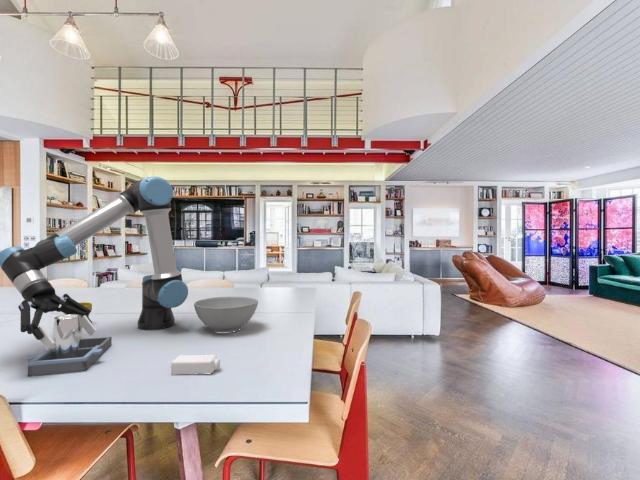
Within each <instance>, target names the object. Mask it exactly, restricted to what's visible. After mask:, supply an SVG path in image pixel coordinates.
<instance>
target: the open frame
mask: <svg viewBox="0 0 640 480" xmlns="http://www.w3.org/2000/svg"><path fill="white" fill-rule="evenodd" d="M112 338H113V337H112V336H107V337H106V336H104V337H103V336H101V337H90V338H81V339H80V343H79V348H78V358H67V359H56V348H55V347H54V348H50V349H45V350H44V351H43V352H41V353H34V354H32V355H30V356H29V357H28V362H27V364H26V365H27V377H36V376H37V377H38V376H48V375H57V374H58V375H59V374H66V373H67V374H68V373H78V372H87V370H88V369H89V368H90V367H91V366H92V365H93V364H94V363H95V362H96V361H97V360H98V359H99V358H100V357H101V356H102V355H103V354H104V353H105V352H106V351H107V350H108V349H109V348H110V347H111V346H112V344H113V343H112Z"/></svg>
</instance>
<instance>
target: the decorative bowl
mask: <svg viewBox="0 0 640 480" xmlns="http://www.w3.org/2000/svg"><path fill="white" fill-rule="evenodd" d="M258 305H259V300H258V299H256V298H253V297H249V296H248V297H247V296H246V297H245V296H220V297H219V296H217V297H211V298H210V297H209V298H203V299H200V300H197V301H195V302H194V303H193V306H194V311H195V313H196V315H197V316H198V318H199V320H200V321H201V323H203V325H205V326H206V327H207V328H210V329H211V332H213V331H214V332H213V333H215V332H232V333H234V332H233V331H237V330H239V329H240V330H242V327H243V326H245V325H246V324H248V322H249V321H250V320H251V319H252V318H253V316H254V314H255V312H256V310H257V308H258ZM240 330H239V331H240ZM237 332H238V331H237Z"/></svg>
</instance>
